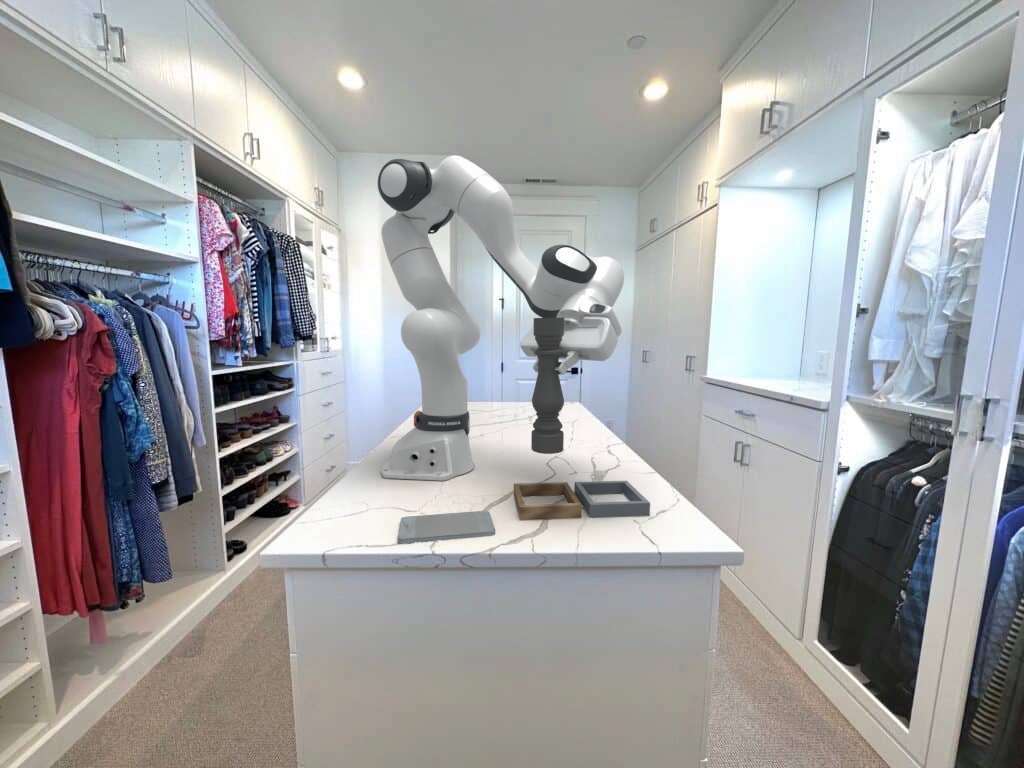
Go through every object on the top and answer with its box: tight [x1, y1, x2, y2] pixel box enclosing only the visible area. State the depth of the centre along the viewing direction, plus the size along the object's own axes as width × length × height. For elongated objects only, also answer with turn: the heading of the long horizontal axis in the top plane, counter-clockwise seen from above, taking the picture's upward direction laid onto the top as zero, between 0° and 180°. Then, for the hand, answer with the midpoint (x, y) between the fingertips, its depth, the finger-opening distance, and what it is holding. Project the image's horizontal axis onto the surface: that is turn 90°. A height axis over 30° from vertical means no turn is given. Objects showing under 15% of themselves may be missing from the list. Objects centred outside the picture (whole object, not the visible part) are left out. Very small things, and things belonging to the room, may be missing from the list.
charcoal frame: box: [573, 480, 651, 519], centre depth 79 cm, size 11×11×2 cm
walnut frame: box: [513, 481, 583, 521], centre depth 78 cm, size 11×11×2 cm
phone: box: [397, 510, 496, 545], centre depth 68 cm, size 8×16×1 cm, turn 102°
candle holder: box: [530, 317, 565, 455], centre depth 75 cm, size 6×6×25 cm
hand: (547, 371), depth 74 cm, fingers closed on candle holder, 4 cm apart
